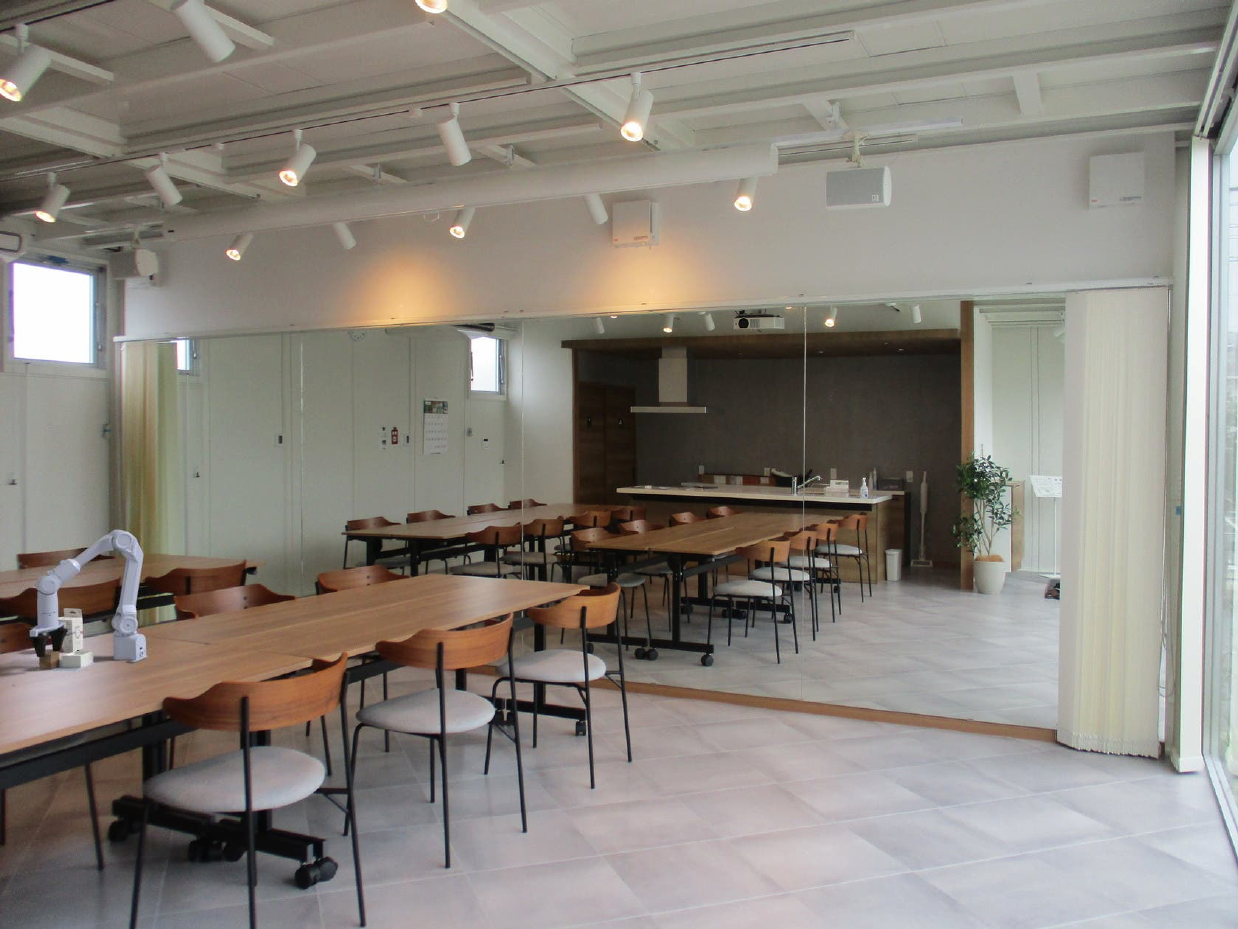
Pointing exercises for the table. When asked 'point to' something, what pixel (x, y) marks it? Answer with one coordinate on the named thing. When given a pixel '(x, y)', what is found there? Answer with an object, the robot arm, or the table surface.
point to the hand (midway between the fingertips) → (49, 654)
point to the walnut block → (49, 660)
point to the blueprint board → (74, 661)
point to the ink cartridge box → (72, 630)
